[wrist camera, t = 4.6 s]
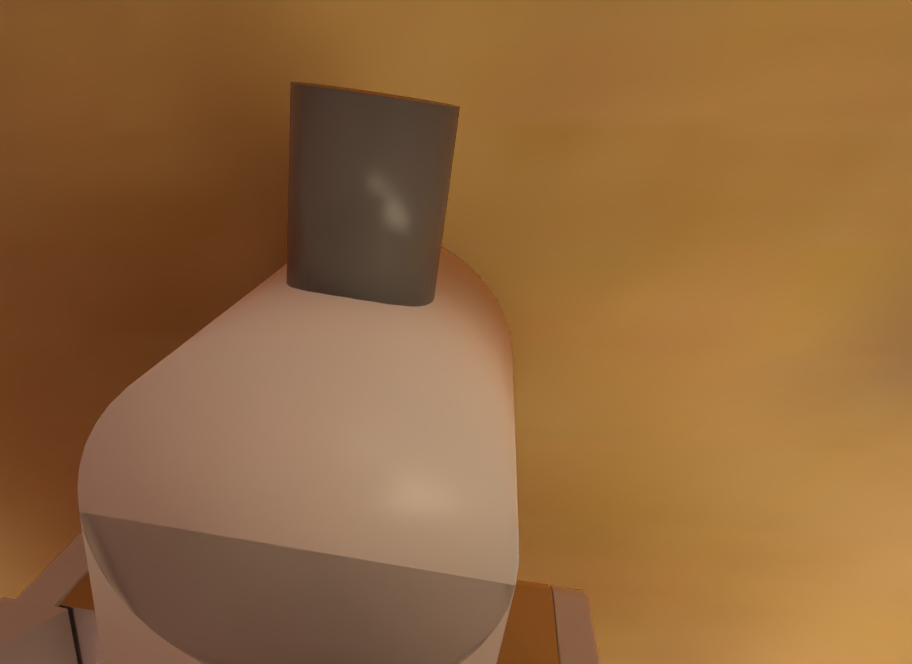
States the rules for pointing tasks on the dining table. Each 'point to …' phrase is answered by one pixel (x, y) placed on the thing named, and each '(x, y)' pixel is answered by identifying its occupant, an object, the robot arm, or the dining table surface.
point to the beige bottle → (322, 432)
